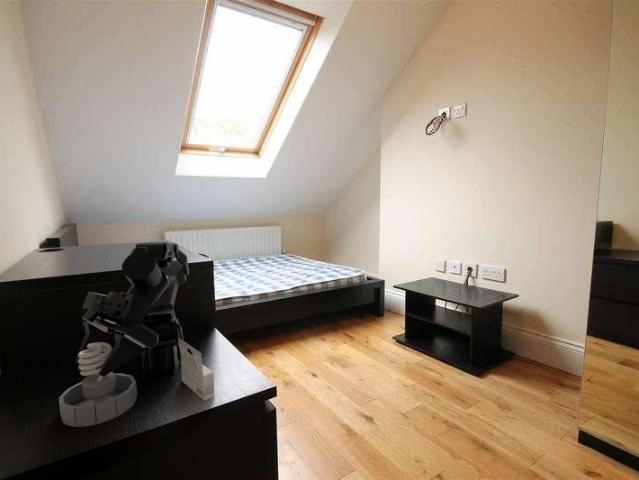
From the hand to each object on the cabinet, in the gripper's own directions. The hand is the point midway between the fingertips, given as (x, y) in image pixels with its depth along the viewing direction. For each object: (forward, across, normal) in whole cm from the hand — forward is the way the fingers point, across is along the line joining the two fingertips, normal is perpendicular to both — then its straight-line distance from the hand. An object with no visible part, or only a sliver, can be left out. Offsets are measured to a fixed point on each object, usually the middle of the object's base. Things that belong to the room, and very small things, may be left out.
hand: (88, 369), depth 65 cm
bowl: (+5, 0, +7) cm, 8 cm away
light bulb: (+4, 0, +6) cm, 8 cm away
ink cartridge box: (-5, +10, +17) cm, 20 cm away
